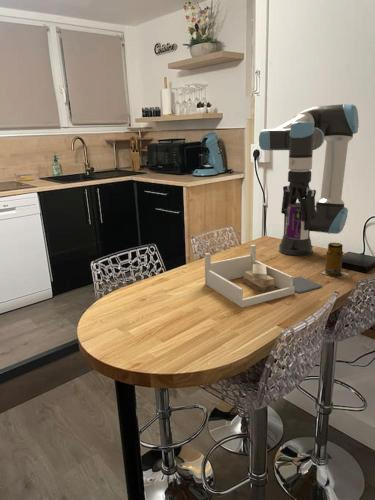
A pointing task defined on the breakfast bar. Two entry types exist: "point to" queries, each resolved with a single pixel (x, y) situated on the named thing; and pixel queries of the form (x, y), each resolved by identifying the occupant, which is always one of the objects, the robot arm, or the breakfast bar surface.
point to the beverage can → (294, 221)
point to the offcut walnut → (262, 289)
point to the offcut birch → (259, 272)
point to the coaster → (304, 285)
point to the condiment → (334, 261)
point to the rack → (236, 268)
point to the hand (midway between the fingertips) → (296, 236)
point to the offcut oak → (261, 283)
